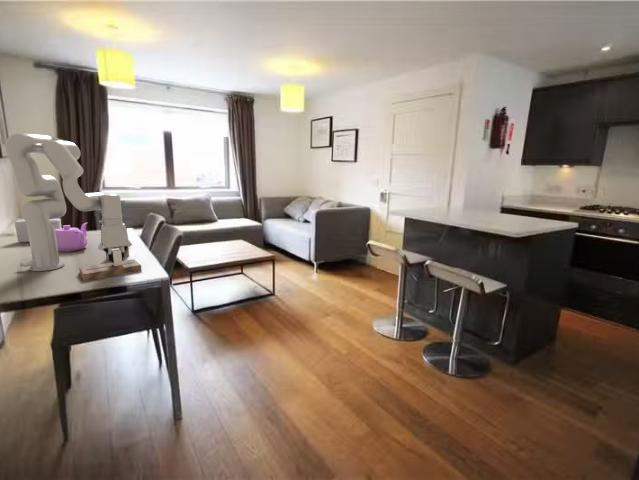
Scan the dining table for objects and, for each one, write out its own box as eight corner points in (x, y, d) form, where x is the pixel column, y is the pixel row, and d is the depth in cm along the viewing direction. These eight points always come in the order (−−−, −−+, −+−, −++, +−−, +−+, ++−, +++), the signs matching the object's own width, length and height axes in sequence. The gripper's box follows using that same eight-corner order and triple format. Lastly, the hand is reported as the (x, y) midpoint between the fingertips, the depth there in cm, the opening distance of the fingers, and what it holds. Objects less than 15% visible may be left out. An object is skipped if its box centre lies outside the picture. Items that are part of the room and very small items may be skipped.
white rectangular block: (114, 266, 149) (112, 251, 147) (112, 263, 152) (110, 249, 151) (122, 264, 151) (121, 250, 149) (120, 262, 154) (118, 248, 153)
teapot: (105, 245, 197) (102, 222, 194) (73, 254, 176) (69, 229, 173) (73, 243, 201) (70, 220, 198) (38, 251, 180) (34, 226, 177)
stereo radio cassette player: (17, 243, 195) (11, 210, 191) (22, 240, 203) (17, 208, 198) (60, 241, 204) (56, 209, 200) (64, 238, 211) (60, 207, 207)
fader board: (84, 280, 139) (83, 273, 138) (79, 273, 147) (79, 267, 147) (141, 271, 154) (140, 264, 153) (134, 265, 162) (133, 258, 161)
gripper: (92, 224, 139) (97, 266, 143) (135, 221, 150) (139, 260, 154) (89, 222, 144) (94, 262, 148) (131, 219, 155) (134, 256, 159)
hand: (117, 260), depth 151 cm, fingers closed on white rectangular block, 3 cm apart
